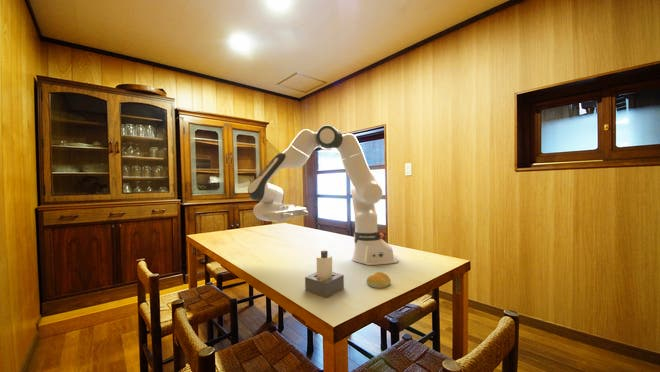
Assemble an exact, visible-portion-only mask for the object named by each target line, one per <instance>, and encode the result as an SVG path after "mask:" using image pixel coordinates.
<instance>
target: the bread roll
mask: <svg viewBox="0 0 660 372" xmlns="http://www.w3.org/2000/svg"><path fill="white" fill-rule="evenodd" d="M391 282H392V281H391V278H390V276H389V275H388V274H387V273H385V272H380V271H378V272H374V273H373V274H371V275H369V276H368V277H367V278H366V283H367V284H368V286H370V287H371V288H377V289H378V288H379V289H382V288H383V289H384V288H387V287H388V286H389V285H391Z"/></svg>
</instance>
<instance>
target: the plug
mask: <svg viewBox="0 0 660 372" xmlns="http://www.w3.org/2000/svg"><path fill="white" fill-rule="evenodd" d="M328 254H329V253H328V250H321V251H320V256H316V272H317V278H320V279H323V280H327V279H329V278H332V272H333V256H332V255H328Z"/></svg>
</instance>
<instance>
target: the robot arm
mask: <svg viewBox="0 0 660 372" xmlns="http://www.w3.org/2000/svg"><path fill="white" fill-rule="evenodd" d="M316 149H322V150H323V151H324V150H325V151H330V150H331V151H332V150H333V149H335V150H337V152H338V154H339V156H340V160H341V161H342V164H343V167H344V170H345V172H346V175H347V177H348V178H349V180H350V182H351V184H352V188H351V190H350V191H351V195H352V196H351V198H352V204H353V211H354V233H353V241H354V248H353V253H352V258H351V259H352V260H353V261H354V262H356V263H359V264H364V265H367V266H375V265H385V264H387V265H388V264H397V263H398V262H399V257H398V256H396V255H395V254H394V250H393V247H392V246H391V245H390V244H389V243H388V242H386V241H385V240H384V239H383V238H384V237H385V235H384V233H383V232H380V231H379V230H378V213H377V211H376V206H375V204H376V203H379V201H381V199H382V196H383V189H382V187H381V186H380V184H379V183H378V182H377V180H376V178H375V176H374V175H373V172H372V171H371V169H370V167H369V164H368V162H367V160H366V157H365V154H364V152H363V149H362V147H361V145H360V143H359V140H358V138H357V137H356V135H354V134H353V133H344V134H342V133H341V132H340V131H339V130H338V129H337V128H336V127H334V126H333V125H329V124H325V125H323V126H320V128H319V129H318V130H317V131H316V132H314V131H312V130H311V129H307V128H306V129H302V130H301V131H300V132H298V134H297V135H296V136H295V137H294V139H293V140H292V141H291V143H290V144H289V146H288V147H287V148H286V149H284V151H283V152H278V153H277V154H276V155H275V156H274V157H273V158H272V159H271V161H270V162H269V163H268V164H267V165H266V166H265V167H264V168H263V169H262V171H261V172H260V173H259V175H258V176H257V177H256V178H254V179H253V180H252V181H251V182H249V184H248V186H247V192H248V197H250V199H251V200H254V201H258V203H257V204H255V205H254V206H253V209H252V211H253V215H254V216H255V218H257V219H258V220H261V221H265V222H273V223H284V222H285V221H287V220H290V219H293V218H298V217H303V216H309V211H308V210H307V207H304V206H297V205H295V204H285V203H284V199H285V192H284V190H283V188H281V187H279V186H277V185H275V184H272V183H269V182H270V181H271V180H272V178H274V176H275V175H276V174H277V173H278V172H279V171H280V170H282V169H286V168H287V169H288V168H289V169H290V168H291V169H295V168H296V169H298V168H301V167H303V166H304V165H305V164H306V163H307V161H308V160H309V158H310V157H311V155H312V154H313V152H314V151H315V150H316ZM352 260H351V261H352Z"/></svg>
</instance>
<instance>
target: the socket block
mask: <svg viewBox="0 0 660 372" xmlns="http://www.w3.org/2000/svg"><path fill="white" fill-rule="evenodd" d="M304 285H305V286H304V288H305V291H306V292H307V293H311V294H314V295H317V296H320V297H323V298H324V299H328V298H329V297H331V296H333V295H335V294H336V293H338V292H339V291H342V290H344V288H345V275H344V274H341V273H338V272H334V271H332V278H329V279H327V280H323V279H320V278H317V271H316V272H314V273H311V274H308V275H306V276H304Z"/></svg>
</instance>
